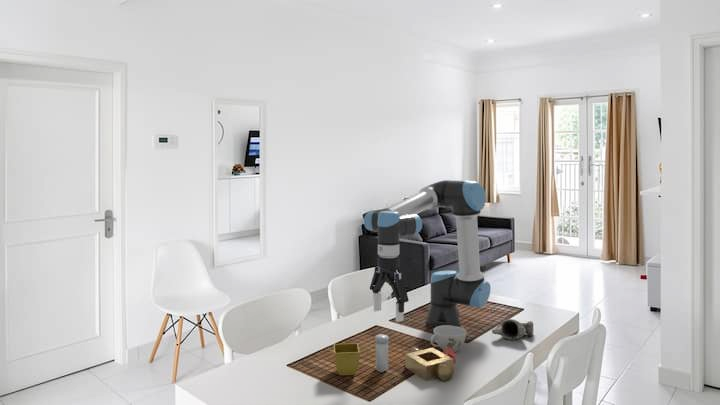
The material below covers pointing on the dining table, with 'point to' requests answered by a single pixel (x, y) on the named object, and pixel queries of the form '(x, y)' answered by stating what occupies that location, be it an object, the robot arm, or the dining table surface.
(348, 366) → the flower pot
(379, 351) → the white capped shaker
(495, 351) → the dining table surface
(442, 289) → the robot arm
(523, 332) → the grey hollow piece
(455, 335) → the teacup
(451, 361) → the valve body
